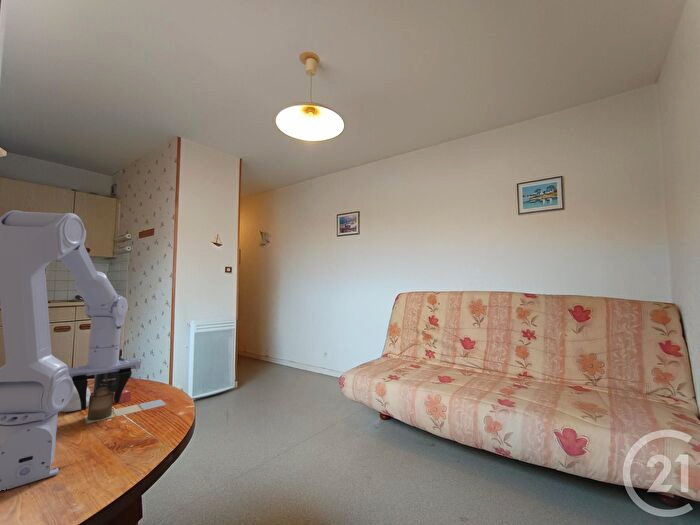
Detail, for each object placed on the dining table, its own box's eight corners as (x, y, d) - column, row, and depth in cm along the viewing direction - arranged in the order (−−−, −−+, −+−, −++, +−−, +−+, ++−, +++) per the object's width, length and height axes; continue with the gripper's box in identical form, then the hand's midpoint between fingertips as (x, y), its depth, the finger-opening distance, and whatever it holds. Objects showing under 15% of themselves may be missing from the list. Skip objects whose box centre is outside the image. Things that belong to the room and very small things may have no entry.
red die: (130, 403, 82) (130, 391, 82) (117, 406, 79) (117, 394, 79) (124, 400, 83) (125, 388, 83) (111, 404, 81) (112, 392, 81)
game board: (170, 410, 77) (170, 407, 77) (86, 431, 66) (87, 428, 66) (158, 398, 85) (158, 396, 85) (81, 415, 74) (81, 412, 74)
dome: (91, 408, 76) (92, 385, 76) (59, 415, 72) (61, 390, 72) (88, 402, 80) (90, 380, 80) (58, 408, 76) (60, 384, 76)
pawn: (112, 416, 72) (115, 388, 72) (87, 421, 69) (91, 391, 69) (110, 410, 75) (113, 383, 76) (86, 415, 72) (89, 386, 73)
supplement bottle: (103, 398, 85) (107, 353, 85) (87, 395, 87) (90, 351, 88) (129, 390, 91) (131, 348, 92) (112, 387, 93) (115, 346, 94)
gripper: (137, 339, 81) (133, 393, 80) (61, 347, 71) (56, 408, 70) (144, 344, 76) (140, 400, 75) (63, 352, 66) (58, 418, 65)
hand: (100, 405), depth 72 cm, fingers open, 5 cm apart
